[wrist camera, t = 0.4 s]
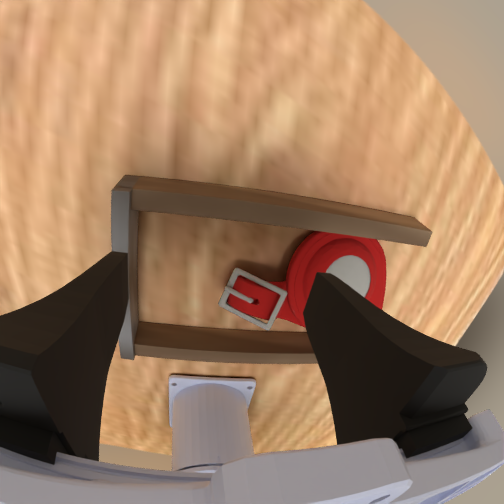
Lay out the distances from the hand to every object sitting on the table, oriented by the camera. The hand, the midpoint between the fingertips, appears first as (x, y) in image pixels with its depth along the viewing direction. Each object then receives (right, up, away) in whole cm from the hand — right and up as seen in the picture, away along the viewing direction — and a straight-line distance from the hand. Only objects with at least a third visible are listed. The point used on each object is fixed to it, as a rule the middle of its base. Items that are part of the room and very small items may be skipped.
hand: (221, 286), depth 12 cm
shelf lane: (+2, -1, +11) cm, 11 cm away
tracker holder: (+5, 0, +12) cm, 13 cm away
